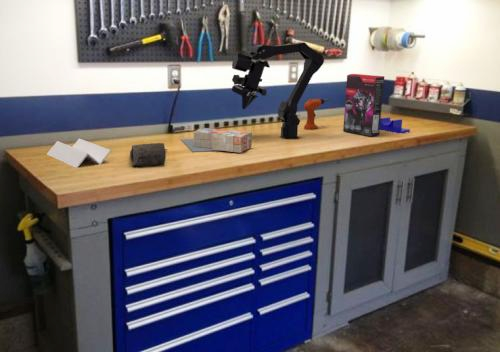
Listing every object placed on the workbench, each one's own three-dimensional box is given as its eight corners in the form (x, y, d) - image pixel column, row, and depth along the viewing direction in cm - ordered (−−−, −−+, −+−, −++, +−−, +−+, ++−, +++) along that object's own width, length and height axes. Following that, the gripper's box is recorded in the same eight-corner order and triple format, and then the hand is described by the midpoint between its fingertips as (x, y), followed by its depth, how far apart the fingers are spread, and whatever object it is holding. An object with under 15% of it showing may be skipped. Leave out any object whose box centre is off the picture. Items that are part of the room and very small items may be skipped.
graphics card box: (341, 131, 247) (345, 73, 240) (350, 130, 251) (355, 73, 244) (371, 137, 234) (376, 76, 227) (380, 135, 239) (385, 76, 232)
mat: (213, 138, 223) (213, 138, 223) (228, 150, 201) (228, 149, 201) (180, 140, 219) (180, 139, 219) (192, 152, 197) (192, 151, 197)
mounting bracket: (409, 133, 250) (410, 120, 248) (400, 134, 245) (402, 122, 244) (379, 127, 263) (380, 115, 262) (370, 128, 259) (371, 116, 257)
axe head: (175, 141, 174) (130, 146, 170) (178, 163, 176) (133, 169, 171) (165, 137, 199) (126, 141, 195) (167, 156, 200) (128, 161, 196)
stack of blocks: (203, 142, 214) (189, 147, 203) (203, 127, 212) (189, 132, 201) (251, 147, 207) (240, 153, 196) (252, 131, 205) (241, 136, 194)
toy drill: (333, 123, 261) (333, 93, 256) (309, 132, 249) (308, 101, 244) (325, 122, 264) (325, 93, 259) (301, 130, 252) (300, 100, 247)
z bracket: (89, 178, 175) (75, 167, 170) (59, 164, 192) (46, 154, 188) (111, 150, 178) (98, 139, 174) (79, 139, 196) (67, 128, 192)
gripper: (252, 68, 229) (241, 101, 234) (227, 66, 213) (216, 102, 219) (272, 77, 224) (260, 111, 229) (248, 76, 208) (236, 112, 214)
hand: (243, 109), depth 223 cm, fingers closed
